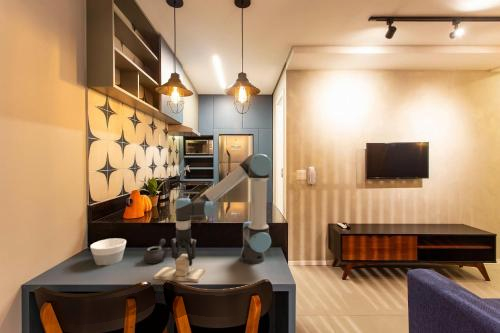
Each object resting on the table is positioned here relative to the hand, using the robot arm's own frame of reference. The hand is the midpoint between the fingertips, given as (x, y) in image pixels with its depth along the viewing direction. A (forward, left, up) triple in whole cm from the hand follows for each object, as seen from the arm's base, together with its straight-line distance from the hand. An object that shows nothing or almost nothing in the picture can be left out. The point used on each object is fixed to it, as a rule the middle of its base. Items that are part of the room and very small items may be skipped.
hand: (183, 271), depth 136 cm
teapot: (+25, -20, -3) cm, 32 cm away
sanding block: (0, 0, -1) cm, 1 cm away
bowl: (+53, -12, -3) cm, 54 cm away
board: (+2, 0, -2) cm, 3 cm away
